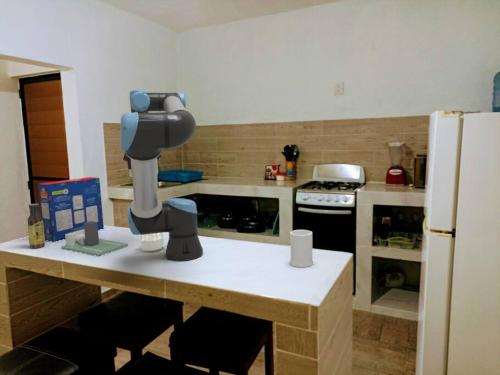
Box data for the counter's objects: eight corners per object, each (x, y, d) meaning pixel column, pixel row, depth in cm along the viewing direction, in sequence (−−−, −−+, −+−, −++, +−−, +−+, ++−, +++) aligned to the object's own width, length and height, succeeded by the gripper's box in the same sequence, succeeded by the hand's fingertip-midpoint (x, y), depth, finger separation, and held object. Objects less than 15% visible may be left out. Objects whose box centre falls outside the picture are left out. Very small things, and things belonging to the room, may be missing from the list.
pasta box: (94, 227, 206) (90, 177, 202) (103, 228, 202) (99, 177, 198) (44, 240, 183) (38, 183, 179) (53, 242, 179) (47, 184, 175)
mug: (300, 256, 149) (299, 226, 147) (320, 259, 144) (320, 229, 142) (286, 265, 139) (285, 233, 137) (307, 269, 134) (306, 236, 132)
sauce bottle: (39, 249, 168) (34, 205, 165) (26, 248, 169) (21, 205, 166) (48, 244, 175) (44, 203, 172) (36, 244, 176) (32, 203, 173)
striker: (100, 243, 170) (98, 221, 169) (89, 246, 166) (87, 224, 164) (90, 241, 174) (88, 220, 173) (79, 244, 169) (77, 222, 168)
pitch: (128, 245, 169) (127, 233, 168) (98, 256, 155) (96, 242, 154) (92, 239, 182) (91, 227, 181) (61, 248, 168) (59, 235, 167)
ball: (81, 233, 175) (82, 241, 176) (73, 235, 172) (75, 243, 172) (86, 233, 173) (88, 241, 174) (79, 235, 170) (80, 244, 170)
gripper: (155, 127, 176) (158, 172, 179) (111, 127, 154) (115, 178, 157) (167, 126, 172) (169, 172, 175) (124, 126, 150) (128, 178, 154)
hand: (144, 175), depth 166 cm, fingers open, 13 cm apart
